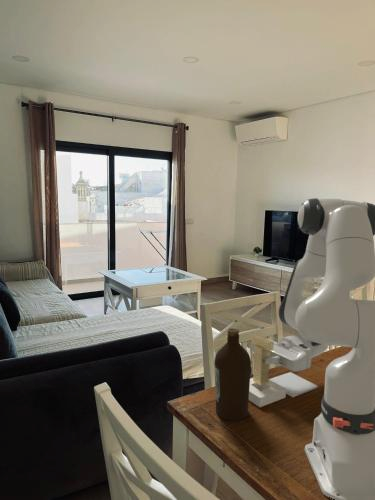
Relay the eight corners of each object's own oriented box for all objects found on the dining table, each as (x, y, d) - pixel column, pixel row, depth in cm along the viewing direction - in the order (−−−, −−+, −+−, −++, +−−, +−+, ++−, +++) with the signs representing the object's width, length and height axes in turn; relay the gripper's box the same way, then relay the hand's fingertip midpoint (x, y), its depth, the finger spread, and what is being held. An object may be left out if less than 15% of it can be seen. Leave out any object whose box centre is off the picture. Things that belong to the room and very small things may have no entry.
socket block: (285, 397, 114) (285, 388, 114) (259, 407, 109) (259, 398, 108) (261, 383, 124) (261, 374, 123) (236, 391, 118) (236, 382, 118)
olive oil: (248, 403, 111) (250, 324, 108) (251, 423, 101) (253, 337, 98) (214, 401, 112) (215, 323, 109) (213, 421, 102) (214, 335, 99)
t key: (273, 385, 113) (275, 341, 111) (265, 388, 111) (267, 343, 109) (256, 375, 120) (257, 334, 118) (248, 378, 118) (249, 335, 116)
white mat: (317, 387, 121) (317, 385, 121) (292, 397, 114) (292, 395, 114) (290, 373, 131) (290, 372, 131) (265, 381, 124) (265, 380, 124)
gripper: (268, 331, 130) (238, 339, 122) (315, 350, 112) (283, 360, 105) (267, 348, 130) (238, 356, 123) (314, 370, 113) (283, 380, 106)
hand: (259, 358), depth 114 cm, fingers closed on t key, 3 cm apart
